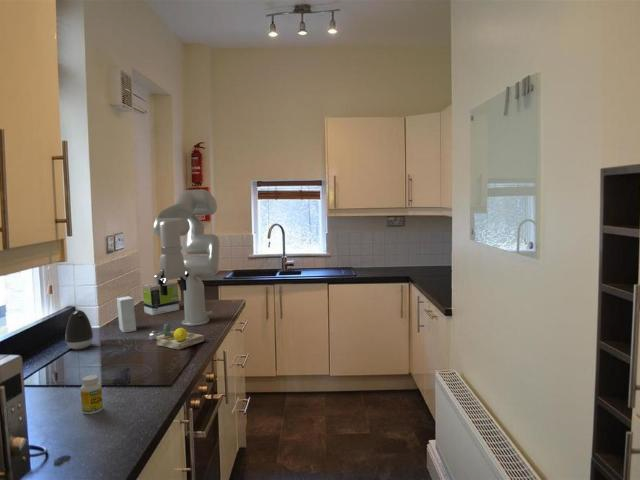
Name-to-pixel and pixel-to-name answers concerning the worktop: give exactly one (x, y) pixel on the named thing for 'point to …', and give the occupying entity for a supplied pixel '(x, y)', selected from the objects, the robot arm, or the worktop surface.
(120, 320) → the skincare box
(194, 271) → the robot arm
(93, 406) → the supplement bottle
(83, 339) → the grey dome gadget
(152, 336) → the hub
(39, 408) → the worktop surface
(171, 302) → the tea box
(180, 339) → the lemon
